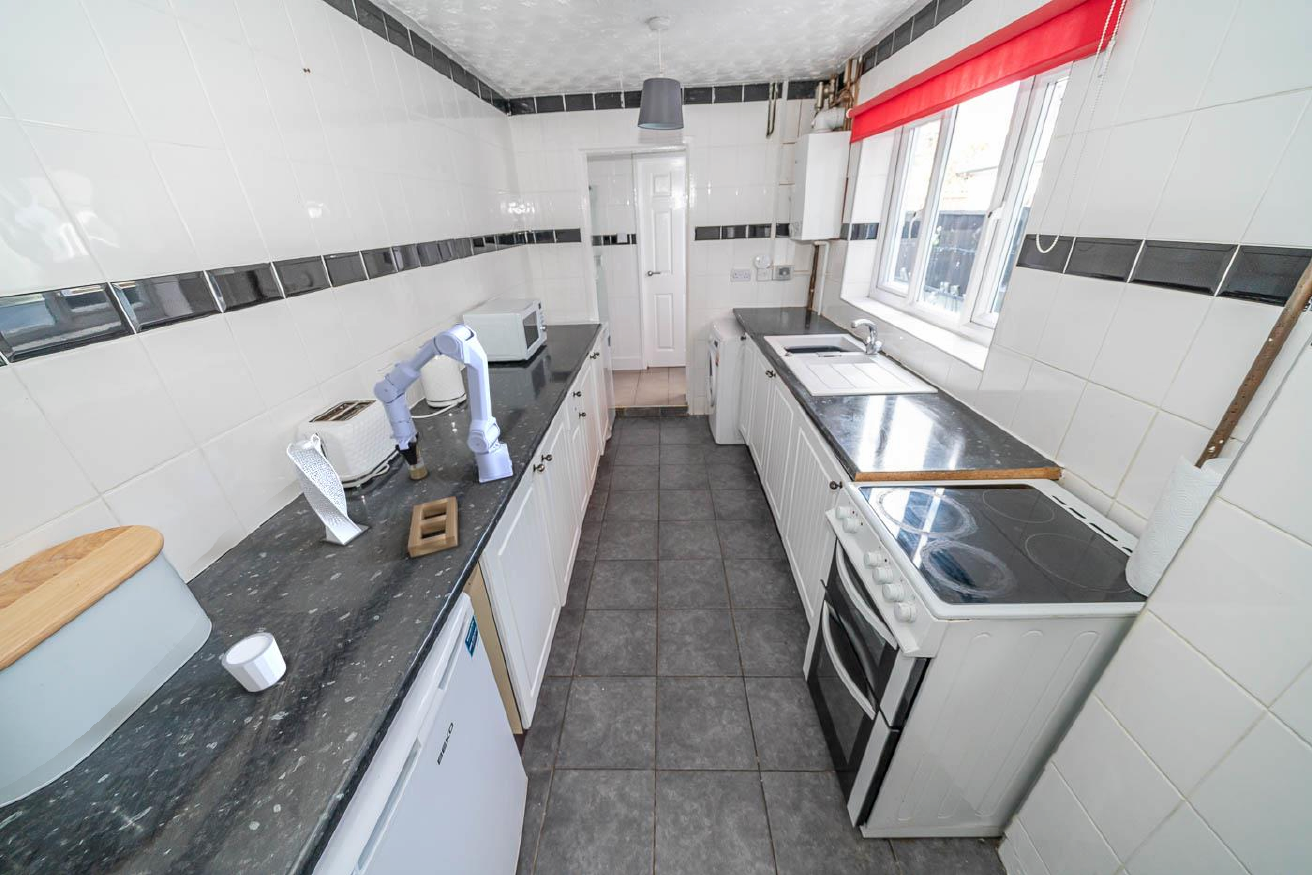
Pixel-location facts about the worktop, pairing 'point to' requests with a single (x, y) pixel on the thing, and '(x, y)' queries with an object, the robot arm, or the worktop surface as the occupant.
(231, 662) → the white faceted cup
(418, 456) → the sprinkles bottle
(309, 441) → the skyscraper
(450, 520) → the holder
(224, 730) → the worktop surface
